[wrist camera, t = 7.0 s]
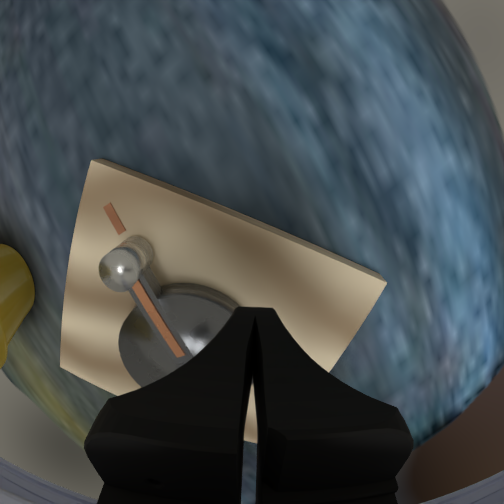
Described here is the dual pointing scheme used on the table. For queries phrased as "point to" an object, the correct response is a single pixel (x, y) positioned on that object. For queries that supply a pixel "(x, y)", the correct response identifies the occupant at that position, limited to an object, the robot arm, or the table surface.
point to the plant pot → (13, 295)
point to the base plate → (200, 273)
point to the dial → (160, 313)
